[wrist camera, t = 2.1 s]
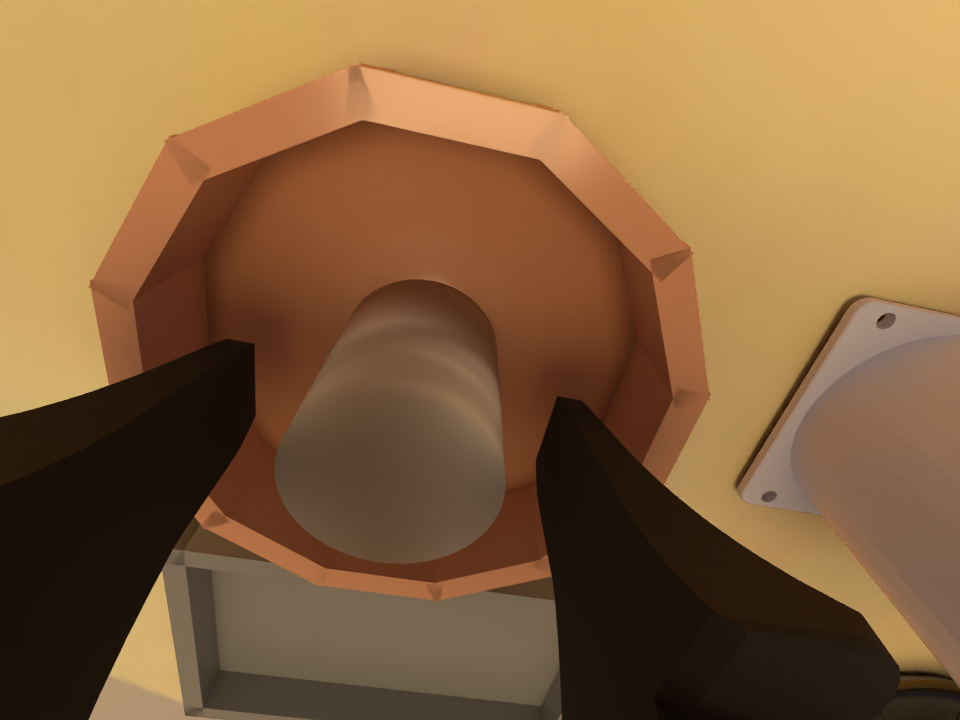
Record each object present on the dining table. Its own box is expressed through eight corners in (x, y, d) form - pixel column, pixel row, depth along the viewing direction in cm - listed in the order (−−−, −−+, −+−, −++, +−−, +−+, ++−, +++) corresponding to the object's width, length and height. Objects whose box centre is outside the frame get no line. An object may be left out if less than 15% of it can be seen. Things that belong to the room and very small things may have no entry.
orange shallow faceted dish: (730, 149, 13) (826, 174, 9) (572, 523, 19) (593, 622, 16) (172, 17, 11) (32, -14, 8) (207, 468, 18) (141, 562, 14)
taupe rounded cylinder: (512, 296, 13) (530, 413, 9) (480, 424, 16) (480, 576, 11) (350, 264, 13) (274, 369, 8) (339, 400, 15) (273, 547, 10)
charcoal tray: (623, 561, 20) (638, 612, 18) (550, 702, 25) (556, 753, 23) (192, 499, 18) (158, 547, 16) (209, 664, 24) (185, 715, 22)
